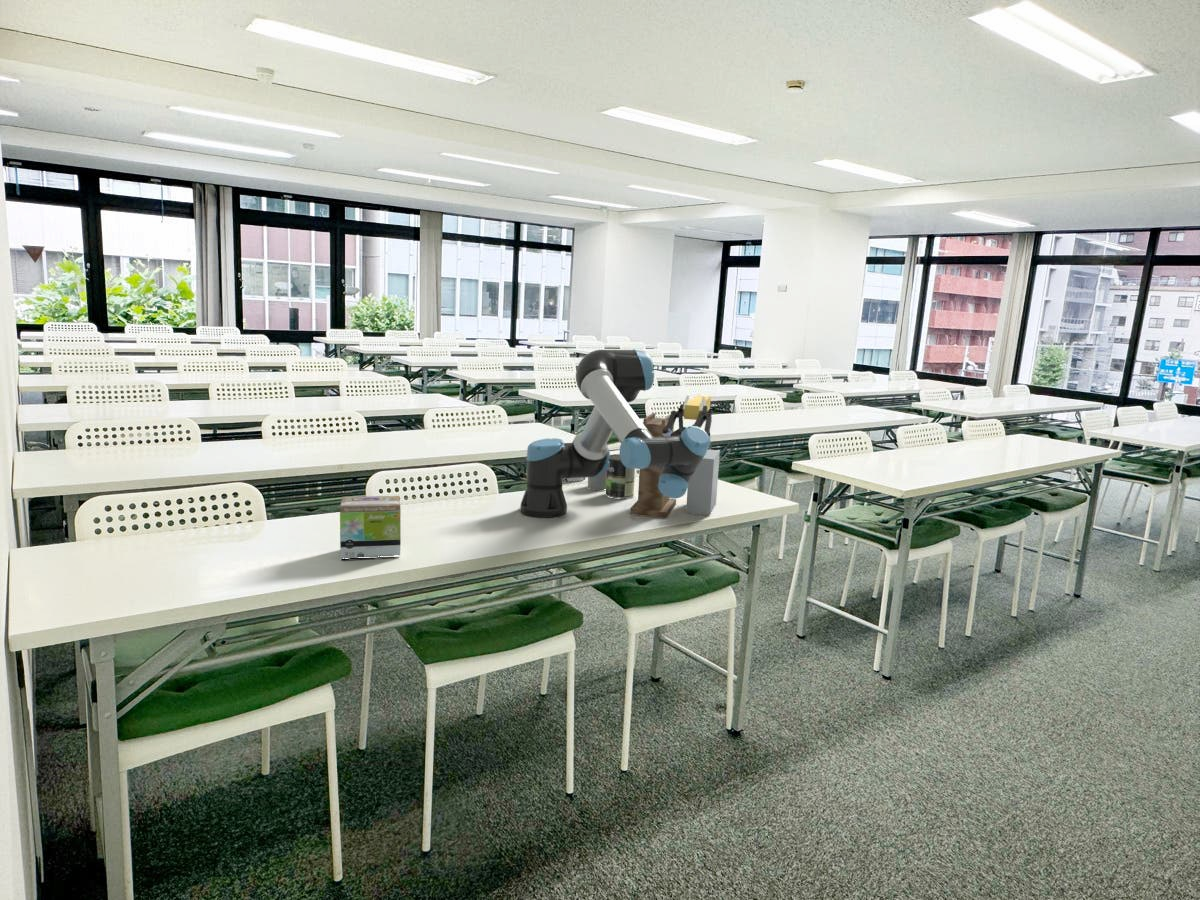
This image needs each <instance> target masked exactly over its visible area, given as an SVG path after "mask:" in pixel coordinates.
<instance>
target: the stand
mask: <svg viewBox="0 0 1200 900" xmlns="http://www.w3.org/2000/svg"><path fill="white" fill-rule="evenodd" d="M670 415H671V413H670V414H669V415H667V416H666V417H664V418H661V417H656V413H655V412H653V413H650V414H648V415H647V416H645V418H643V421H642V423H643V424H644V426H645V427H646V428H647V430H648V431H649V432H650V433H651V435H652V436H653V437H663V429H664V428H665V427H666V426H667V423H668V420H669V417H670ZM674 426H675V425H674ZM674 426H673V429H672V431H671V433H673V432H674V431H675V429H674V428H675V427H674ZM662 469H663V467H657V468H645V469H638V470H639V471H638V473H639V475H638V490H637V491H638V492H637V493H638V494H637V495H638V496H637V500H636V501H635V503H634V504H633V505H632V506H631V507H630V509H629V515H632V514H633V515H634V516H641V515H642V516H643V517H651V518H659V519H667V518H668V516H669V515H670V513H671V512H672V511H673V509H674V508H675V506H676V505H677V498H669V497H667V496H664V495H663V494H662V493H661V492H660V490H659V488H658V483H659V477H660V475H661V472H662ZM633 515H632V516H633Z"/></svg>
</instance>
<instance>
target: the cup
mask: <svg viewBox="0 0 1200 900" xmlns="http://www.w3.org/2000/svg"><path fill="white" fill-rule="evenodd" d="M606 478H607V470H606V472H605V473H604V474H602V475H600V476H595V477H587V488H588V489H589V488H590V489H589V490H591V489H595V490H594V491H598V490H604V489H606ZM604 491H605V490H604Z"/></svg>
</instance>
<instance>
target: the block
mask: <svg viewBox="0 0 1200 900" xmlns="http://www.w3.org/2000/svg"><path fill="white" fill-rule="evenodd" d="M703 397H705V406H707V412H708V411H709V410H710V409H711V400H712V396H711V395H701V394H700V395H697V396H694V398H692V399H691V400H689V402H688V403H687V404H685V410H684V417H683V420H690V421H691V420H695V421H696V420H697V418H698V417H699V409H700V405H701V401H702V398H703Z"/></svg>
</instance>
